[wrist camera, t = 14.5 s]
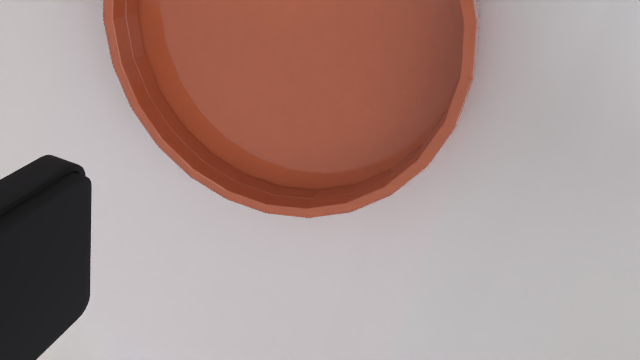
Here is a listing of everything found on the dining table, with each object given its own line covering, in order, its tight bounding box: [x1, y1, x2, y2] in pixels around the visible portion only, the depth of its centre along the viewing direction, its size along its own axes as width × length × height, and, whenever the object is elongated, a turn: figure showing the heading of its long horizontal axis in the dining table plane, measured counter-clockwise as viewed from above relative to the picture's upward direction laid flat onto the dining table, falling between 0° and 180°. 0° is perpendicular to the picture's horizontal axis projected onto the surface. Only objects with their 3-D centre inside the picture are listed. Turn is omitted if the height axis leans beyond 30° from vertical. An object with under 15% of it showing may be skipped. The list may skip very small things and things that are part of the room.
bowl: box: [103, 0, 480, 218], centre depth 29 cm, size 19×19×3 cm
